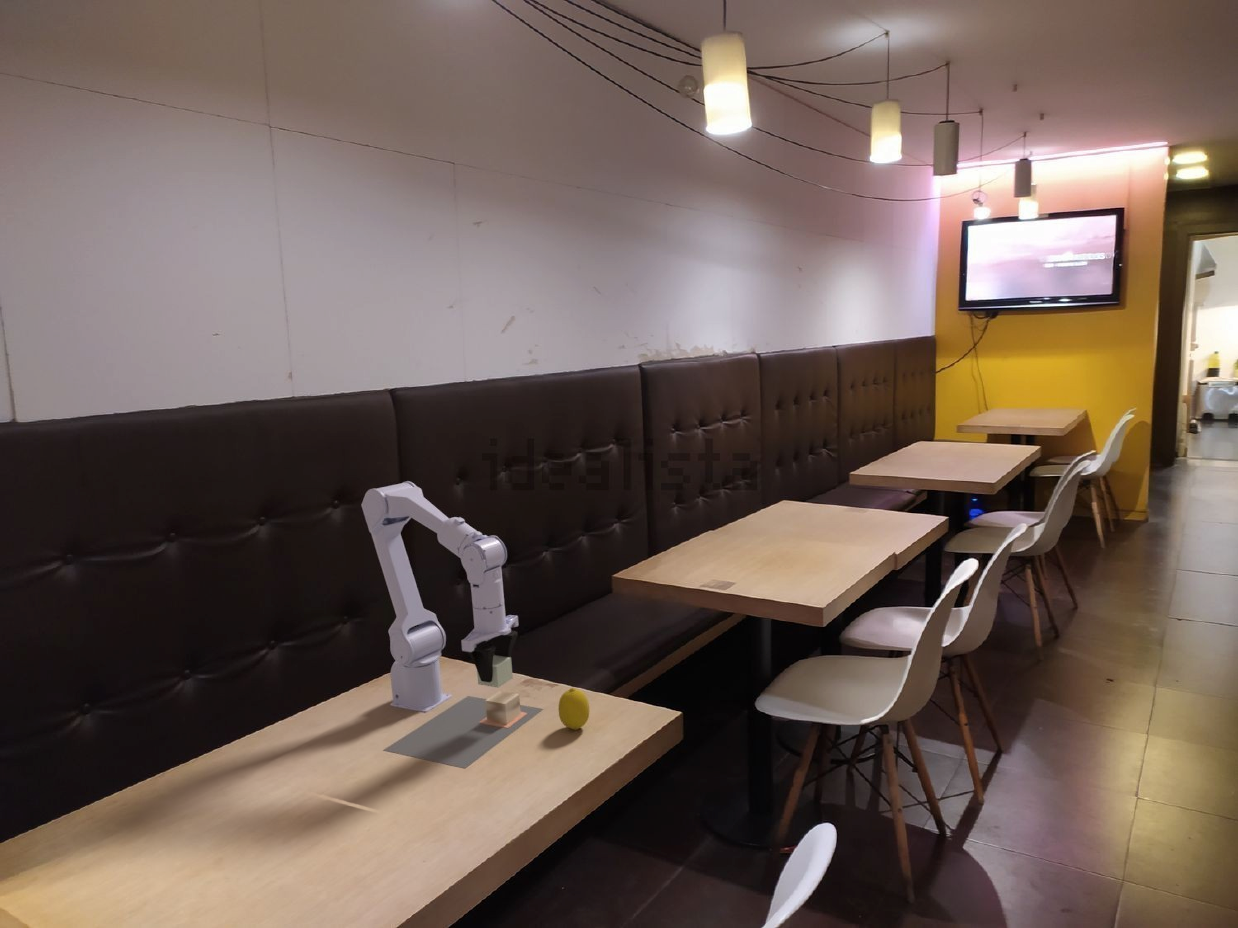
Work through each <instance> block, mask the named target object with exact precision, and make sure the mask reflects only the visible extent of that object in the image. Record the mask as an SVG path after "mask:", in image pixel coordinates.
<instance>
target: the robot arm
mask: <svg viewBox="0 0 1238 928" xmlns="http://www.w3.org/2000/svg"><path fill="white" fill-rule="evenodd" d="M361 508H362V512H363V516H364V519H365V522H366V524H367V528H368V531H369V533H370V534H371V538H372V541H373V544H374V548H375V551H376V554H377V558H378V560H379V563H380V567H381V569H382V574H383V576H384V580H385V583H386V586H387V589H388V592H389V593H388V594H389V596H390V600H391V603H392V606H393V609H394V613H395V616H396V617H395V619H394V620H393V622H392V624H391V625H390V627H389V629H388V631H387V632H388V634H389V641H390V643H389V644H390V647H389V649H390V653H391V655H392V657H393V659H394V660H395V661H394V662H393V664H391V665H392V666H391V668H390V676H389V677H390V685H391V694H392V695H391V696H392V702H391V703H390V704H389V705H390V707H391V706H392V707H395V708H400V709H405V710H412V711H416V712H422V713H428V712H430V711H432V710H433V709H435V708H436V707H438V706H440V705H441V704H443V703H444V702H446V701H448V700H449V699H451V698H452V697H453V695H452V694H448V693H443V689H442V688H443V687H442V679H441V678H442V677H441V667H440V659H439V658H440V657H441V656H442V650H444V648H445V647H446V643H447V642H446V641H447V635H446V631H445V630H444V628H443V627H442V625H441V624H440V622H439V621H438V618H437V614H436V613H434V612H432V611H430V610H428V609H426V608H424V606H423V602H422V598H421V596H420V592H419V588H418V587H417V586H418V585H417V583H416V579H415V576H414V574H413V569H412V567H411V564H410V563H411V562H410V560H409V556H408V553H407V551H406V547H405V544H404V540H403V538H402V535H401V532H402V531H403V528H404V526H405V525H406V524H408V522H409V521H410V520H411V519H413V520H414V521H416V522H418V523H420V524H421V525H422V526H424V527H426V528H428V529H429V530H431V531H433V532H434V533H436V534H437V535H436V536H437V541H438V543H439V544H440V545H442V546H443V547H445V548H446V549H447V550H448V551H450V552H451V553H453V555H456V556H457V557H458V558H460V561H461V565H462V567H463V569H464V571H465V572H466V577H467V581H468V582H469V584H470V591H471V602H472V614H473V626H474V628H473V629H472V630H471V631H470V633H468V634H467V636H466V637H464V639H461V651H462V652H466V653H467V654H468V656H469V657H470V659H471V661H472V662H473V664H474V666H475V669H476V672H477V671H478V674H479V676H480V679H481V681H484V682H491V681H492V677H493V656H494V655H496V656H503V657H510V658H511V659H512V657H511V656H512V653H513V649H514V646H515V643H516V641H517V638H518V636H519V635H518V631H517V630H512V628H516V627H518V626H519V615H512V614H509V615H506V606H505V597H504V595H505V594H504V582H503V572H502V566H503V565H504V564H505V563H506V562H507V559H508V551H507V550H508V549H507V547H506V545H505V543H504V542H503V541H502V539H500V538H499V536H497V535H489V536H488V535H486V534H484V535H483V533H482V532H481V531H477V529H475V528H473V527H472V526H470V525H469V524H468V523H466V520H465V519H464V518H462V517H461V516H459V517H457V516H454V517H451V518H450V517H448V516H447V515H446V514H444V513H443V512H442V511H441V510H440V509H438V508H437V507H436V506H435V505H434V504H432V502H430V501H429V500H428V499H426V497H424V493H423V489H422V488H420V487H419V486H417V485H416V484H415V483H413V482H412V481H409V480H407V481H403V482H402V483H398V484H392V485H388V486H383V487H378V488H370V489H368V490H367V491H366V492H365V494H364V497H363V500H362V502H361ZM417 625H418V626H417ZM415 626H416V627H415ZM488 641H490V643H491V645H489V644H488V643H487V642H488Z"/></svg>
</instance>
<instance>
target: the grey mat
mask: <svg viewBox="0 0 1238 928" xmlns="http://www.w3.org/2000/svg"><path fill="white" fill-rule="evenodd" d="M487 699H488V698H481V697H476V696H471V695H467V696H465V698H462V699H461V700H459V701H458V702H456V703H455V704H453V705H451V706H450V707H449V708H447V709H445V710H444V711H442V712H440V713H439V714H437V715H436V716H434V717H432V718H431V719H429V720H427V722H425V723H424V724H422V725H420V726H418V727H417V728H416V729H415V728H414V730H412V731H411V732H409V733H407V734H406V735H404V736H403V737H402V738H400V739H398V740H397V741H395V742H393V744H391V745H389V746H387V747H386V748H385V749H383V752H384V751H385V752H389V753H394V754H399V755H403V756H407V757H412V758H416V759H421V760H425V761H429V762H433V763H438V764H443V765H447V766H451V767H457V768H461V769H467V768H468V767H469V766H470V765H472V764H473V763H475V762H476V761H477V760H479V759H480V758H481V757H482V756H484V755H485V754H486V753H488V752H489V751H490V750H492V749H493V748H494V747H495V746H497V745H498V744H500V743H501V742H502V741H504V740H505V739H506V738H507V737H509V736H510V735H512V734H513V733H514V732H515V731H517V730H518V729H520V728H521V727H522V726H523V725H525V724H526V723H528V722H529V721H530V720H531V719H533V718H534V717H536V716H537V715H538V714H539V713H540V712H542V711H543V710H544V708H542V707H540V708H539V707H536V706H535V707H534V706H529V705H523V704H520V710H521V715H520V716H518V717H517V718H515V719H514V720H513V721H511V722H510V723H509V724H507V725H506V724H501V723H495V722H490V721H487V714H486V703H485V700H487Z"/></svg>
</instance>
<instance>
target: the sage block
mask: <svg viewBox="0 0 1238 928" xmlns="http://www.w3.org/2000/svg"><path fill="white" fill-rule="evenodd" d="M476 673H477V684H478V685H480V686H485V687H492V688H498V689H499V688H500V687H502V686H504V685H505V684H507V683H508V682H509V681H511V680H513V665H512V657H511V658H510V657H503V656H496V655H494V656H493V677H492V681H491V682H484V681H481V679H480V676H479V674H478V671H477V670H476Z"/></svg>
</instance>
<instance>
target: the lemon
mask: <svg viewBox="0 0 1238 928" xmlns="http://www.w3.org/2000/svg"><path fill="white" fill-rule="evenodd" d="M559 698H560V699H559V702H558V716H559V719H560V721H561V723H562V725H564V726H565V727H567V728H568V729H572V730H573V731H577V730H579V729H580V728H582V727H583V726H584V725H586V723H588V719H589V717H590V703H589V700H588V697H587V695H586V694H585V693H584V692H583V691H582V690H580V689H577V688H574V687H570V689H568V690H566V691H565V692H564V693H562V695H561V697H559Z"/></svg>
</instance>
